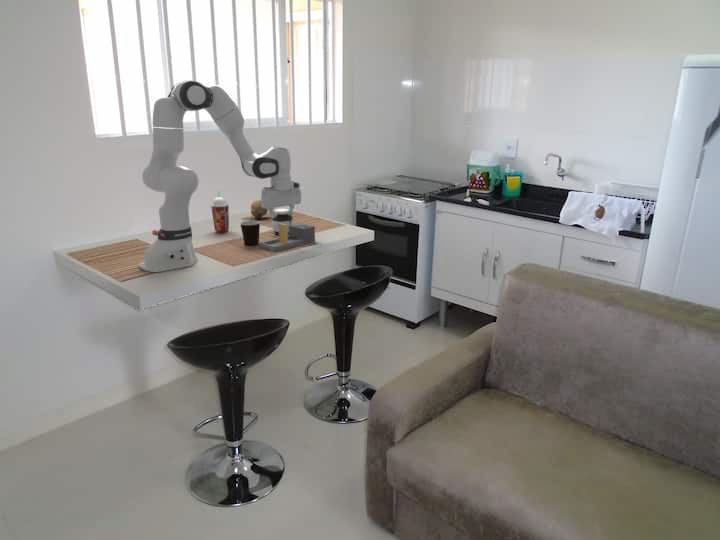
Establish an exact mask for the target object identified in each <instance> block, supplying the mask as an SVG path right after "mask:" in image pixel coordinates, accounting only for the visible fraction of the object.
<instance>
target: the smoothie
mask: <svg viewBox="0 0 720 540" xmlns="http://www.w3.org/2000/svg"><path fill="white" fill-rule="evenodd" d="M217 193H218V194H217V196H216V197H215V198H214V199H213V200H212V202H211V204H210V206H211V207H210V208H211V214H212V219H213V227H214V230H215V232H216V233H217V234H223V233H228V232H229V229H230V223H229V221H230V219H229V218H230V217H229V215H230V213H229V212H230V211H229V210H230V209H229V203H228V201H227V200H226V199H225V198H224V197H222V196H221V194H220V191H217Z"/></svg>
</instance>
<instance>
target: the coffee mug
mask: <svg viewBox="0 0 720 540" xmlns="http://www.w3.org/2000/svg"><path fill="white" fill-rule="evenodd" d="M260 226H261V222H260V221H258V220H244V221H241V222H240V229H241V233H242V239H243V244H244V246H246V247H255V246H259V245H260V228H261V227H260Z"/></svg>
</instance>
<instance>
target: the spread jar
mask: <svg viewBox="0 0 720 540" xmlns="http://www.w3.org/2000/svg"><path fill="white" fill-rule="evenodd" d="M274 211H275V212H274V213H275V214H276V217H275V218H272V231H273V232H274V234H275V235H278V236H279V223H281V224H285V225H287V232H288V235H289V225H293V224H294V217H293V216H292V215H293V214H292V215H288V214H287V213H288V212H287V211H289V209H288V208H277V209H274Z"/></svg>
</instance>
